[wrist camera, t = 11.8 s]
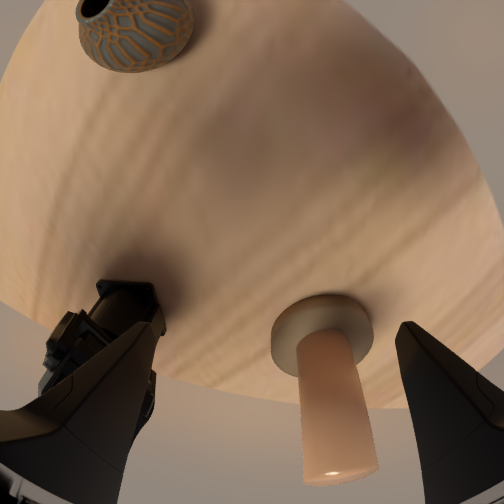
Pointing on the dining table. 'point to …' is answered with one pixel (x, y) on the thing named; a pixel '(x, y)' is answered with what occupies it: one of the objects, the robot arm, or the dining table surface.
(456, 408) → the robot arm
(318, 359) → the tan tapered cylinder
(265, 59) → the dining table surface
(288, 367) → the stand
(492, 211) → the dining table surface
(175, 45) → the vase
